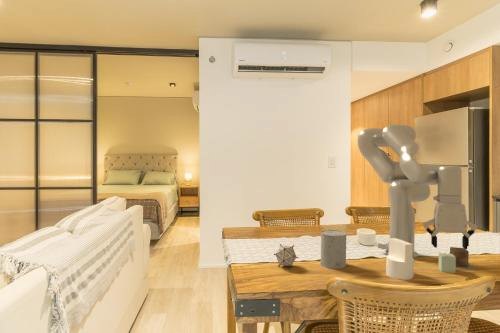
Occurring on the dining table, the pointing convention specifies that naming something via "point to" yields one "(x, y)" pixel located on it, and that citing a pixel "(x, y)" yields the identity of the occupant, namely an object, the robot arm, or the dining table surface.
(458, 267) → the build pad
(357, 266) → the dining table surface
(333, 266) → the grey cylinder
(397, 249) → the base with upright slab
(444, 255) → the green block
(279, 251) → the grey spiked polyhedron
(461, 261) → the walnut block
